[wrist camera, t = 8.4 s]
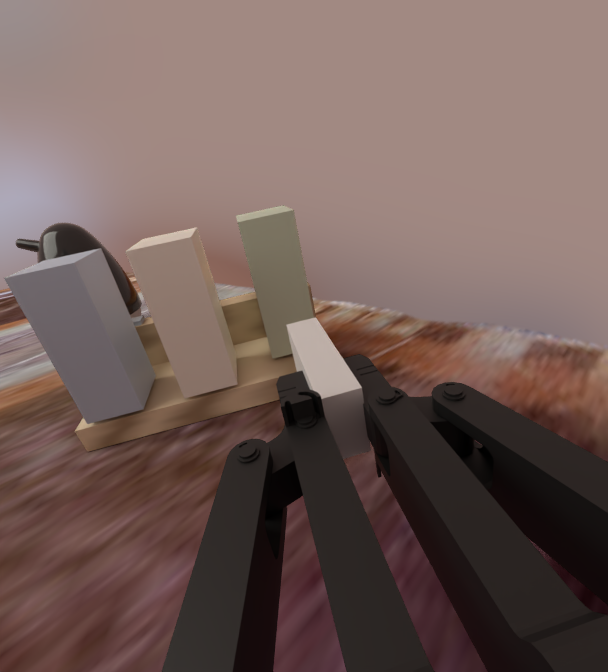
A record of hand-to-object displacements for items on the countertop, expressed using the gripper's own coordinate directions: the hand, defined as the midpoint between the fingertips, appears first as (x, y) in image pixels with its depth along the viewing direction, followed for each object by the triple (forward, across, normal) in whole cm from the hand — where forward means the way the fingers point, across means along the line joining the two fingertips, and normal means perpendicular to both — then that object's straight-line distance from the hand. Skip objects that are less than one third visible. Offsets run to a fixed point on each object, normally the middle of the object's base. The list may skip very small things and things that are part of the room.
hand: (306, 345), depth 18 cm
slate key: (+10, -14, -6) cm, 18 cm away
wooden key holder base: (+13, -7, -8) cm, 16 cm away
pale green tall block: (+13, 0, -6) cm, 14 cm away
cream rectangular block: (+10, -7, -6) cm, 14 cm away
